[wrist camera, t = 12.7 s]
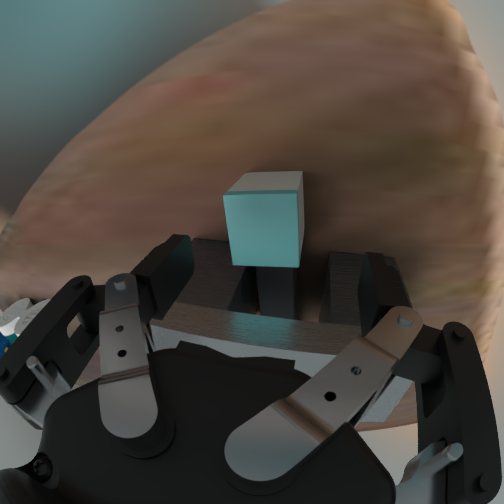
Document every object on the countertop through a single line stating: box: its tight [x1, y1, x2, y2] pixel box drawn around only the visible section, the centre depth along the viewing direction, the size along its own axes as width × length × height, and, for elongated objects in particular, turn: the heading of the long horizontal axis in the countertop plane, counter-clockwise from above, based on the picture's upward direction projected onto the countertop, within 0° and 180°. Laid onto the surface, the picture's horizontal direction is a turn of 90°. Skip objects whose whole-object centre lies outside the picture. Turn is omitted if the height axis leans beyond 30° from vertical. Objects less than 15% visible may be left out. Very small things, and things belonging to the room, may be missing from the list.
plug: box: [223, 171, 304, 320], centre depth 24 cm, size 4×21×6 cm, turn 6°
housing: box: [150, 239, 413, 422], centre depth 22 cm, size 18×8×12 cm, turn 91°
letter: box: [0, 298, 51, 336], centre depth 38 cm, size 22×2×10 cm, turn 104°
